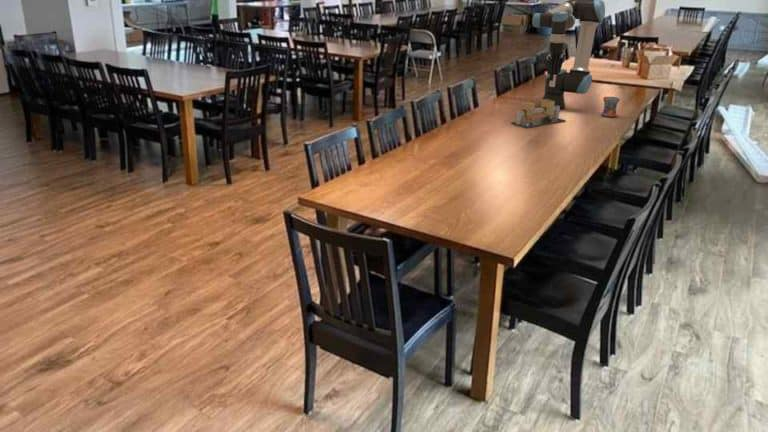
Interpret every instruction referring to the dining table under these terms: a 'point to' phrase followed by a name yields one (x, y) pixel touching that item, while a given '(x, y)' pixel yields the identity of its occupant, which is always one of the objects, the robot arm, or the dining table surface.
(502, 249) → the dining table surface
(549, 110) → the block
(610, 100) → the mug
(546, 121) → the hole plate
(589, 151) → the dining table surface
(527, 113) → the dividers bar
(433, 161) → the dining table surface
